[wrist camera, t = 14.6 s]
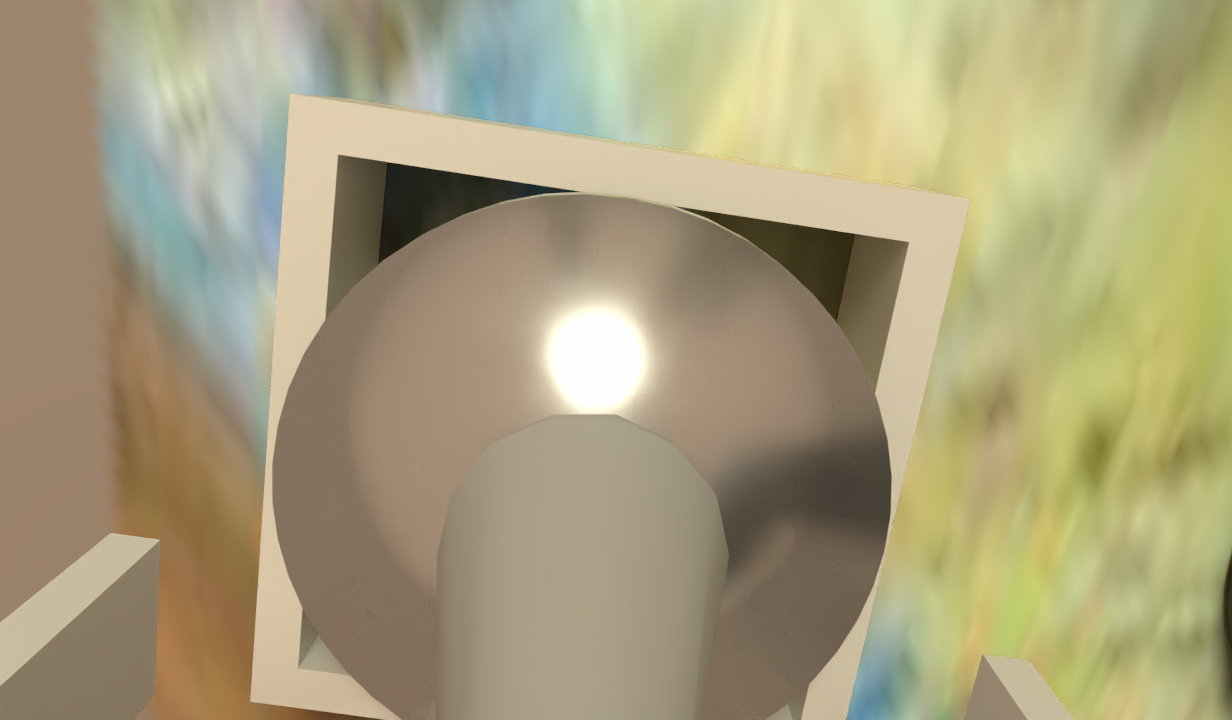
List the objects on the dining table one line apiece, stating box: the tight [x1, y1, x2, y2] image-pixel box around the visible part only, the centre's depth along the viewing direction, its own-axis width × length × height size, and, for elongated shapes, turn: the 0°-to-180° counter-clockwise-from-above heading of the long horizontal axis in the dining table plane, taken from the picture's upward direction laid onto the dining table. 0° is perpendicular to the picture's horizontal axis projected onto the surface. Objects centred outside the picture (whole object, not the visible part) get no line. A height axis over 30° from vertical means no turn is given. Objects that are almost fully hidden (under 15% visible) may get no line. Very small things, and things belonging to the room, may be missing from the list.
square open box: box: [250, 94, 971, 720], centre depth 24 cm, size 17×16×10 cm
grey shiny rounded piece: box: [272, 192, 892, 720], centre depth 25 cm, size 18×14×6 cm
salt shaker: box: [435, 414, 729, 720], centre depth 15 cm, size 6×6×13 cm
